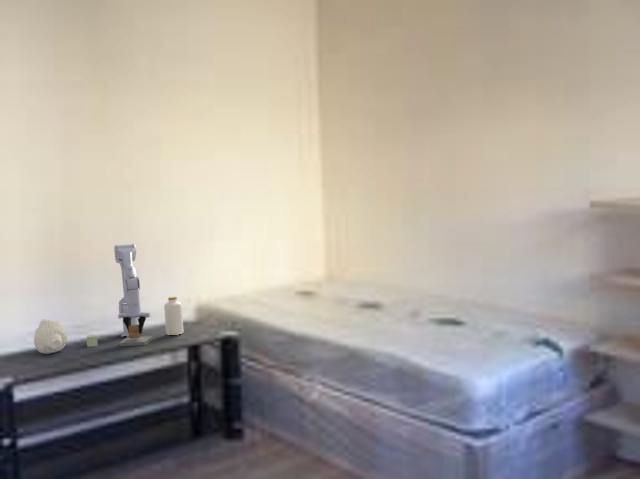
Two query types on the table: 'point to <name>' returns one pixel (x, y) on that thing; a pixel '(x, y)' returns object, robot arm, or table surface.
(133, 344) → the grey square tile
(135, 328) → the walnut block
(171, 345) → the table surface
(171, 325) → the potion bottle
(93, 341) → the pale green block
